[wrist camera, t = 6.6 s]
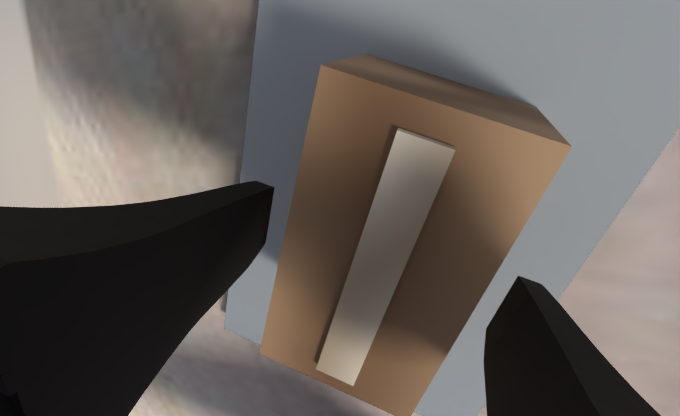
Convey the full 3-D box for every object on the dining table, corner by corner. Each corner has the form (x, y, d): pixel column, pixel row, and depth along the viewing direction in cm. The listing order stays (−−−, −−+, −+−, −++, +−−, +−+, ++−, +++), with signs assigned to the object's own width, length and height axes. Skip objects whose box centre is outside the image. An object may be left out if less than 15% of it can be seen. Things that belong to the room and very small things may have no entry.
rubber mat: (464, 417, 17) (464, 433, 16) (232, 317, 19) (223, 328, 18) (775, -42, 8) (802, -49, 8) (288, -144, 10) (275, -156, 9)
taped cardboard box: (535, 107, 10) (574, 149, 7) (421, 328, 15) (406, 427, 11) (366, 53, 11) (317, 65, 7) (305, 280, 15) (256, 358, 12)
